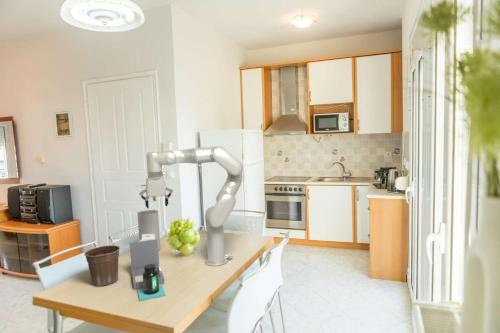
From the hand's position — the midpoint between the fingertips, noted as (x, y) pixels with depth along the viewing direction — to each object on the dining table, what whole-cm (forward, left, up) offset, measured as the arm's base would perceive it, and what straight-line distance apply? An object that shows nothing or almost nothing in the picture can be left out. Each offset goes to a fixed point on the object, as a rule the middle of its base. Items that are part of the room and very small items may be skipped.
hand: (157, 207), depth 178 cm
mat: (+8, +28, -34) cm, 45 cm away
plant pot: (+28, +3, -34) cm, 45 cm away
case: (+8, +11, -34) cm, 37 cm away
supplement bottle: (+8, +28, -34) cm, 44 cm away
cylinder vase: (+2, -37, -34) cm, 51 cm away
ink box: (+5, -20, -34) cm, 40 cm away
